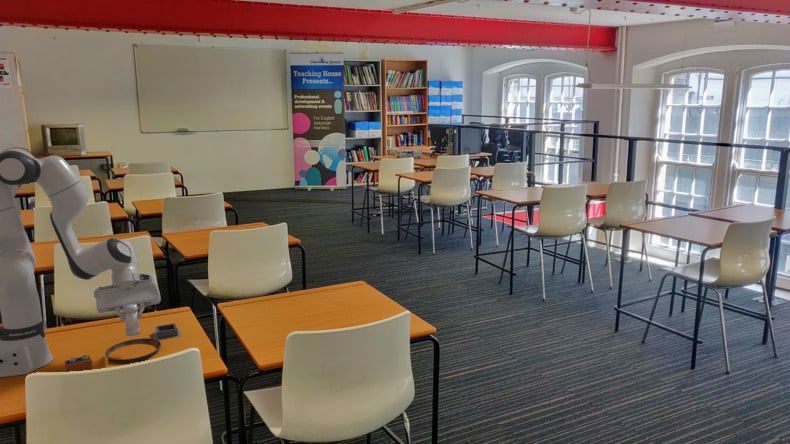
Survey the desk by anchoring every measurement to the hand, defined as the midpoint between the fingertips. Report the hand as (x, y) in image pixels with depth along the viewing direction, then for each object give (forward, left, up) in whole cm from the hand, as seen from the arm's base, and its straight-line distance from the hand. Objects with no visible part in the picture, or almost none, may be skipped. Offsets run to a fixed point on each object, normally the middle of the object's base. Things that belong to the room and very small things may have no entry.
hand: (131, 318), depth 201 cm
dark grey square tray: (+12, +13, -14) cm, 22 cm away
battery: (-16, -17, -14) cm, 27 cm away
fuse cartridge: (0, +1, -6) cm, 6 cm away
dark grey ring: (0, +1, -14) cm, 14 cm away
